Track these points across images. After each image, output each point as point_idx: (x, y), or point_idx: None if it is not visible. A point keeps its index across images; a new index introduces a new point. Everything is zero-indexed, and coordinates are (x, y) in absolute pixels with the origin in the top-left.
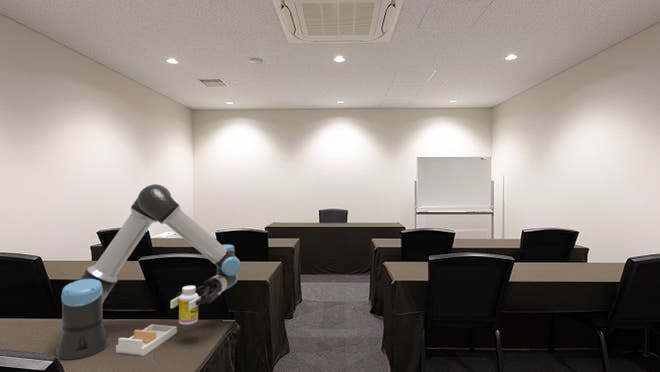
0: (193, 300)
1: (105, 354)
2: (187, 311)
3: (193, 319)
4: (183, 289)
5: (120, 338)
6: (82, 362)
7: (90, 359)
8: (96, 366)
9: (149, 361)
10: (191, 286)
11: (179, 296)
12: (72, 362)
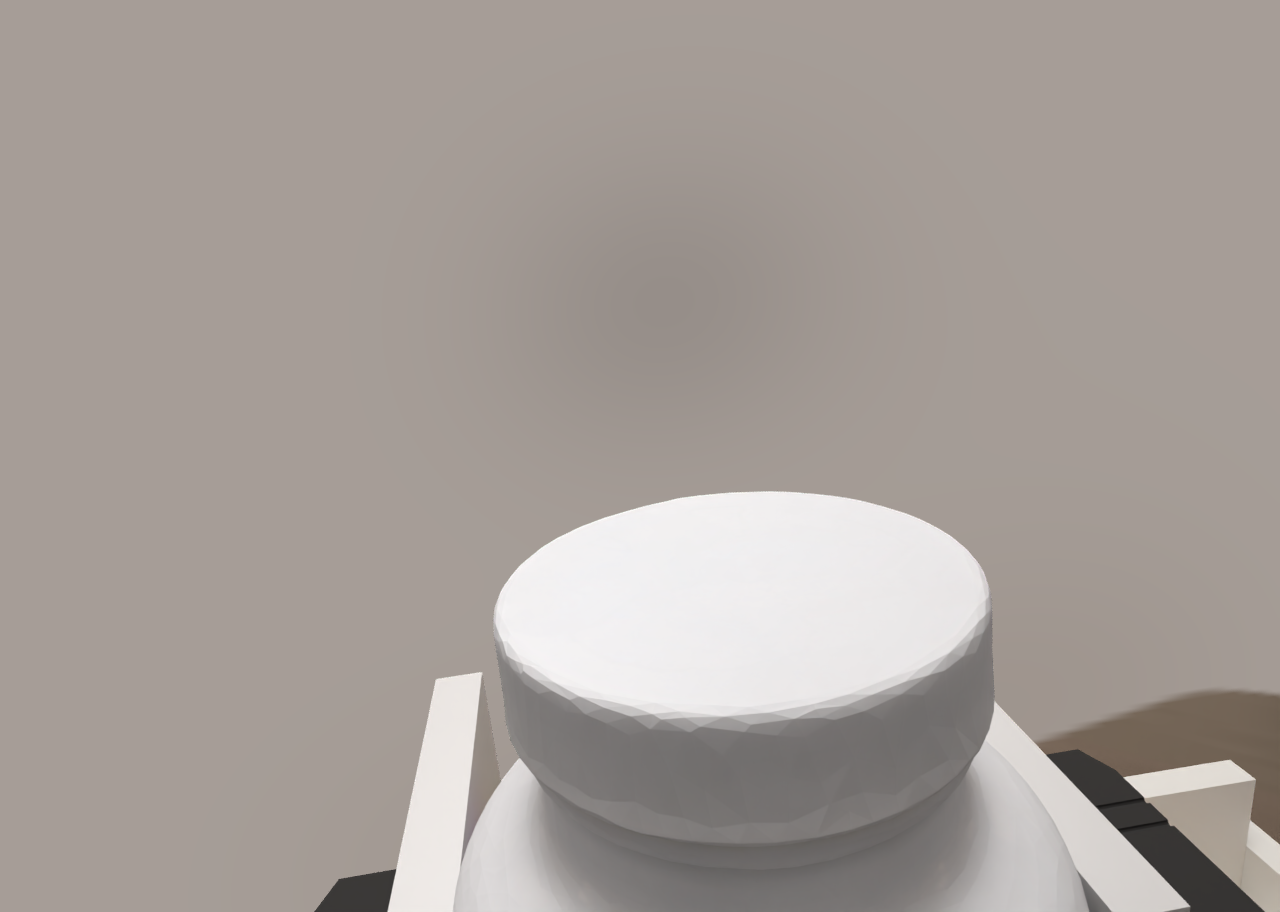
0: (437, 761)
1: (1269, 834)
2: None
3: None
4: (760, 504)
5: (1223, 769)
6: (1218, 727)
7: (1239, 760)
8: (1060, 734)
9: None
10: (743, 637)
11: (1064, 800)
12: (1273, 708)
